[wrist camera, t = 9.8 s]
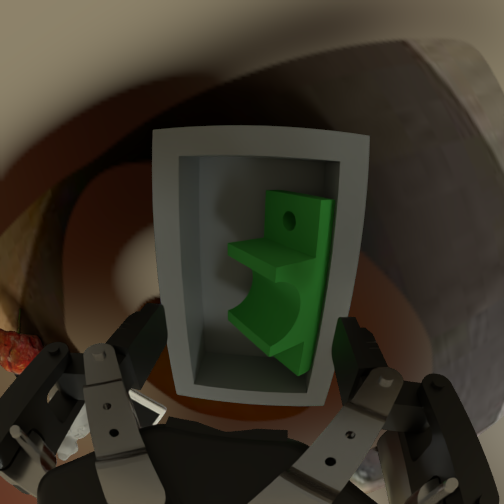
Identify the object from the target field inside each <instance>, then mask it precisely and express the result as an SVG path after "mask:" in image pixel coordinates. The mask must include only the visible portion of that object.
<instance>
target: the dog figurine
mask: <svg viewBox="0 0 504 504" xmlns="http://www.w3.org/2000/svg"><path fill="white" fill-rule="evenodd" d="M57 390H58V389H57V387H56V385H54V386H53V387H52V389H51V390H50V392H49V399H50V400H51V399H52V397H53V396H54V394H55V393H56V391H57ZM89 432H90V429H89V424H88V418H87V412H86V406H85V404H84V405H83V407H82V409H81V410H80V412H79V414H78V416H77V417H76V419H75V421H74V422H73V424H72V426H71V428H70V429H69V431H68V433H67V435H66V437H65V438H64V440H63V442H62V444H61V446H60V448H59V449H58V451H57V453H58V457H59V458H60V459H62V460H67V458H68V457H69V456H70V455H71V454H74V453H76V452H77V451H78V445H77V443H76V441H77V439H81V438H83V437H85V436H86V435H87V434H88V433H89Z"/></svg>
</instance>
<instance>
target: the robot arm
mask: <svg viewBox="0 0 504 504" xmlns="http://www.w3.org/2000/svg"><path fill="white" fill-rule="evenodd" d="M167 339H168V330H167V323H166V316H165V309H164V306H163V305H162V304H154V303H147V304H146V305H145V306H144V307H143V308H142V309H141V311H140V312H138V311H137V312H135V313H133V314H131V315H130V316H129V317H128V318H127V319H126V320H125V321H124V322H123V324H121V326H120V327H119V328H118V329H117V330H116V331H115V333H114V334H113V335H112V336H111V337H110V338H109V339H108V341H107V342H106V343H105V344H104V343H99V344H95V345H92V346H90V347H88V348H87V349H86V350H85V352H84V353H70V351H69V349H68V346H67V345H66V344H65V343H62V342H54V343H51V344H48V345H47V346H45V347H44V348H43V349H42V350H41V351H40V353H39V354H38V355H37V356H36V357H35V358H34V359H33V360H32V361H31V362H30V364H29V365H28V366H27V367H26V368H25V369H24V370H23V371H22V373H21V374H20V375H19V376H18V377H17V378H16V380H15V381H14V382H13V383H12V384H11V385H10V387H9V388H8V389H7V390H6V392H5V393H4V394H3V395H2V397H1V398H0V476H2V477H3V478H4V479H5V480H6V481H7V482H9V483H10V484H12V485H13V486H15V487H16V488H17V489H18V490H20V491H21V492H22V493H25V494H31V495H33V496H34V497H36V498H37V504H377V503H376V502H375V501H374V500H372V499H371V498H370V497H369V496H367V495H366V494H365V493H364V492H363V491H361V490H360V489H359V488H358V487H357V486H355V485H354V484H353V483H352V482H351V481H349V479H350V478H351V477H352V475H353V474H354V472H355V471H356V469H357V468H358V466H359V465H360V463H361V462H362V460H363V459H364V457H365V456H366V454H367V452H368V451H369V449H370V448H371V446H372V444H373V442H374V441H375V439H376V437H377V436H378V434H379V432H380V430H381V429H384V430H387V431H386V432H385V433H384V434H383V435H382V436H381V437H380V438H379V440H378V442H377V448H378V456H379V460H380V464H381V469H382V473H383V477H384V482H385V487H386V491H387V496H388V501H389V504H499V495H498V491H497V487H496V484H495V481H494V479H493V476H492V473H491V470H490V467H489V464H488V462H487V459H486V456H485V454H484V452H483V449H482V447H481V444H480V442H479V439H478V437H477V435H476V432H475V430H474V428H473V426H472V424H471V421H470V419H469V417H468V415H467V413H466V411H465V409H464V407H463V405H462V403H461V401H460V399H459V397H458V395H457V393H456V391H455V389H454V387H453V386H452V384H451V382H450V381H449V380H448V379H447V378H446V377H444V376H442V375H440V374H429V375H427V376H426V377H424V379H423V380H422V383H417V382H408V381H404V380H403V378H402V375H401V374H400V373H399V372H398V371H396V370H395V369H392V368H389V367H388V366H387V363H386V361H385V359H384V357H383V355H382V353H381V351H380V349H379V346H378V344H377V343H376V340H375V338H374V336H373V334H372V333H371V332H370V331H368V330H367V329H366V328H360V326H359V324H358V322H357V320H356V318H355V317H339V318H338V320H337V324H336V329H335V334H334V338H333V343H332V349H331V355H332V361H333V365H334V369H335V373H336V378H337V382H338V386H339V391H340V395H341V400H342V405H343V407H342V409H341V410H340V411H339V413H338V414H337V415H336V416H335V418H334V419H333V420H332V421H331V423H330V424H329V425H328V426H327V427H326V429H325V430H324V431H323V432H322V433H321V435H320V436H319V437H318V438H317V439H316V441H315V442H314V443H313V444H312V445H311V446H310V447H309V446H308V445H306V444H304V443H302V442H299V441H296V440H293V439H289V438H287V437H288V436H287V435H288V434H287V432H288V431H287V430H268V429H252V430H244V431H233V432H224V431H220V430H218V429H215V428H212V427H209V426H206V425H204V424H201V423H199V422H195V421H189V420H184V419H179V418H174V417H169V418H168V420H167V422H166V424H156V425H151V426H147V427H143V428H141V425H140V423H139V420H138V417H137V415H136V412H135V409H134V406H133V403H132V401H131V398H130V395H129V391H130V389H131V388H134V389H137V390H141V388H142V387H143V385H144V383H145V381H146V379H147V377H148V376H149V374H150V372H151V370H152V368H153V367H154V365H155V363H156V361H157V360H158V358H159V356H160V354H161V352H162V351H163V349H164V347H165V345H166V343H167ZM54 385H56V387H57V389H58V390H57V391H56V393H55V394H54V396H53V397H52V399H51V400H50V401H49V403H47V395H48V393H49V392H50V390H51V389H52V387H53V386H54ZM84 404H85V406H86V412H87V418H88V424H89V429H90V434H91V438H92V443H93V447H94V451H93V452H91V453H89V454H87V455H85V456H82V457H80V458H77V459H75V460H73V461H70V462H68V463H65V464H63V465H60V466H58V467H56V463H57V461H56V456H55V455H56V453H57V451H58V449H59V448H60V446H61V444H62V442H63V440H64V438H65V437H66V435H67V433H68V431H69V429H70V428H71V426H72V424H73V422H74V421H75V419H76V417H77V416H78V414H79V412H80V410H81V409H82V407H83V405H84Z"/></svg>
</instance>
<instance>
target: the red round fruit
mask: <svg viewBox="0 0 504 504" xmlns="http://www.w3.org/2000/svg"><path fill="white" fill-rule="evenodd" d="M20 314H21V309H20V313H19V323H18V331H17V332H15V331H4V330H3V329H0V365H1V366H2V367H4V369H6V370H7V371H9V372H13V373H14V374H15V376H16V377H18V376H19V375H20V374H21V373H22V371H23V370H24V369H25V368H26V367H27V366H28V365H29V364H30V362H31V361H32V360H33V359H34V358H35V357H36V356H37V355H38V354H39V353H40V351H41V350H42V349H43V345H42V342H41V340H40V338H39V337H38V336H37V335H25V334H22V333H20V327H21V323H20Z"/></svg>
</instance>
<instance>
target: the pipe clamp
mask: <svg viewBox="0 0 504 504" xmlns="http://www.w3.org/2000/svg"><path fill="white" fill-rule="evenodd" d="M334 208H335V200H334V199H329V198H324V197H319V196H313V195H308V194H302V193H296V192H290V191H284V190H266V199H265V224H264V237H263V238H257V239H250V240H244V241H237V242H231V243H228V256H230V257H231V258H233V259H235V260H237V261H238V262H240V263H242V264H243V265H245V266H247V267H249V268H250V269H252V273H253V281H252V286H251V289H250V291H249V293H248V295H247V296H246V298H245V299H244V300H243V301H242V302H241V303H240V304H239V305H237V306H236V307H234V308H232V309H230V310H228V321H230V322H231V323H232V324H233V325H234V326H235V327H236V328H237V329H238V330H239V331H240V332H242V333H243V334H244V335H245V336H246V337H247V338H248V339H249V340H250V341H252V342H253V343H254V344H255V345H256V346H257V347H258V348H259V349H261V350H262V351H263V352H264V353H265V354H266V355H267V356H269V357H271V356H274V357H275V358H276V359H278V360H279V361H280V362H281V363H282V364H284V365H285V366H286V367H287V368H288V369H290V370H291V371H292V372H293V373H295V374H296V375H297V376H300V375H302V374H303V373H305V372H307V371H309V370H310V369H311V364H312V359H313V354H314V349H315V344H316V339H317V334H318V328H319V323H320V317H321V311H322V305H323V299H324V292H325V285H326V278H327V271H328V264H329V256H330V247H331V238H332V229H333V219H334Z"/></svg>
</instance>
